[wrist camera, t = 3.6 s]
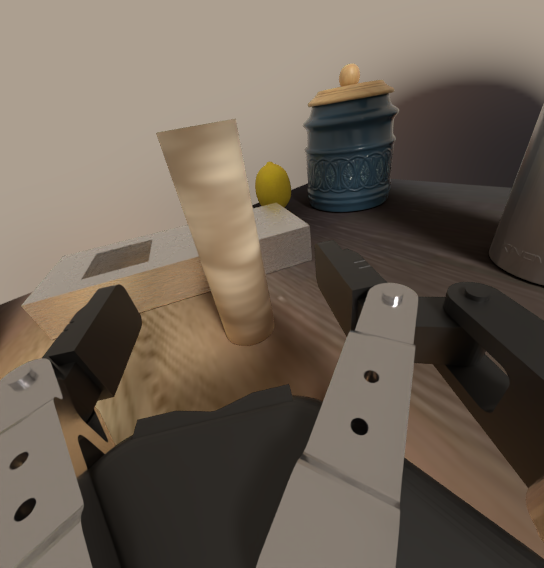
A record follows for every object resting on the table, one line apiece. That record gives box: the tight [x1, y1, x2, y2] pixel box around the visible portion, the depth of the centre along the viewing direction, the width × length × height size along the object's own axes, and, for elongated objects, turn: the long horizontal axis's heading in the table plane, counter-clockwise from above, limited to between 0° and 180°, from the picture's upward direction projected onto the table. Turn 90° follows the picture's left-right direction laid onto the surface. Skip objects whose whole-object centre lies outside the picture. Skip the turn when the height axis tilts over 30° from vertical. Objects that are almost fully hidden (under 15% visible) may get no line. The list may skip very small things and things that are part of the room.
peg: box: [156, 119, 275, 346], centre depth 17 cm, size 4×4×14 cm
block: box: [21, 203, 312, 340], centre depth 28 cm, size 26×10×4 cm, turn 109°
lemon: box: [255, 162, 291, 207], centre depth 40 cm, size 6×6×8 cm
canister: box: [303, 64, 399, 212], centre depth 38 cm, size 13×13×18 cm
